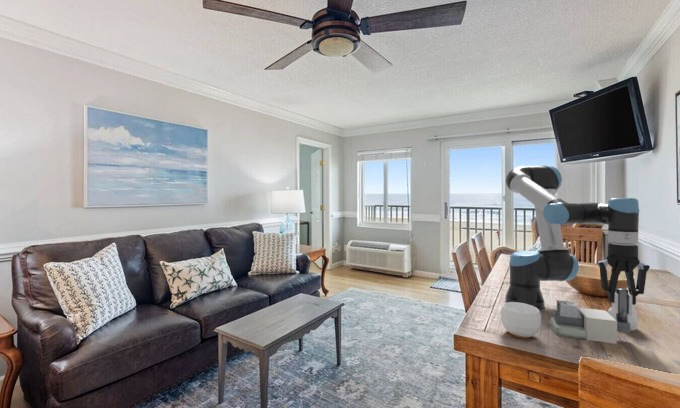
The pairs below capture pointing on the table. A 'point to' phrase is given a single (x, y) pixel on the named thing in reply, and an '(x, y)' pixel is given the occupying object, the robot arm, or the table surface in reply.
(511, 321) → the white faceted bowl
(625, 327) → the grey l-shaped bracket
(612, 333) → the housing
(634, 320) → the figurine
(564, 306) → the block
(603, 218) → the robot arm
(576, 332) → the tray
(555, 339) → the table surface
